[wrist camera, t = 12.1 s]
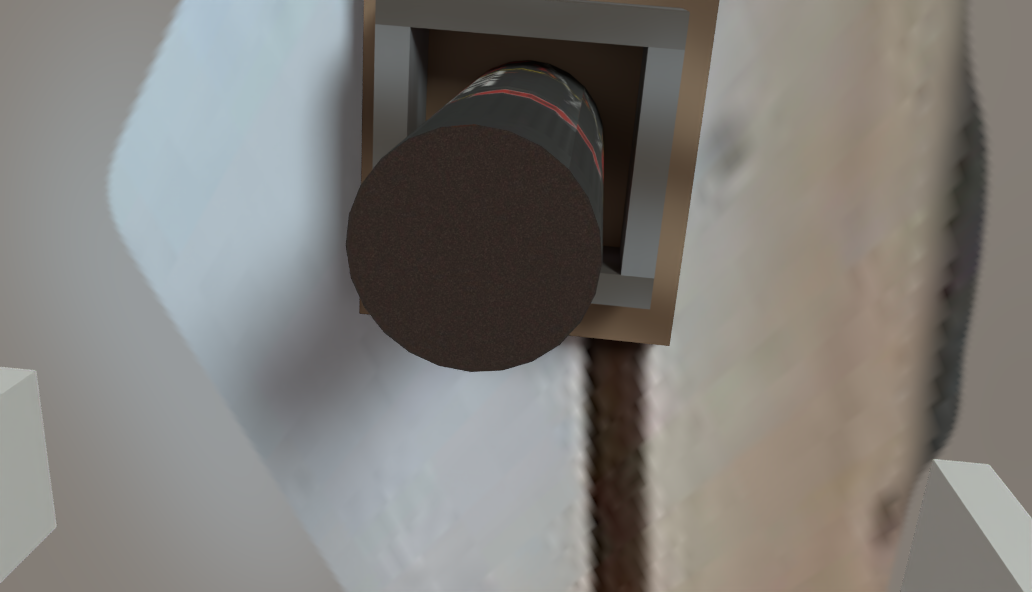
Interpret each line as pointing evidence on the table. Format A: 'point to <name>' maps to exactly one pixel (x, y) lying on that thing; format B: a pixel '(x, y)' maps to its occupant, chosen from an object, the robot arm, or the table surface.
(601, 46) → the socket stand
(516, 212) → the deodorant
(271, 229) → the table surface
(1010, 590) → the robot arm
